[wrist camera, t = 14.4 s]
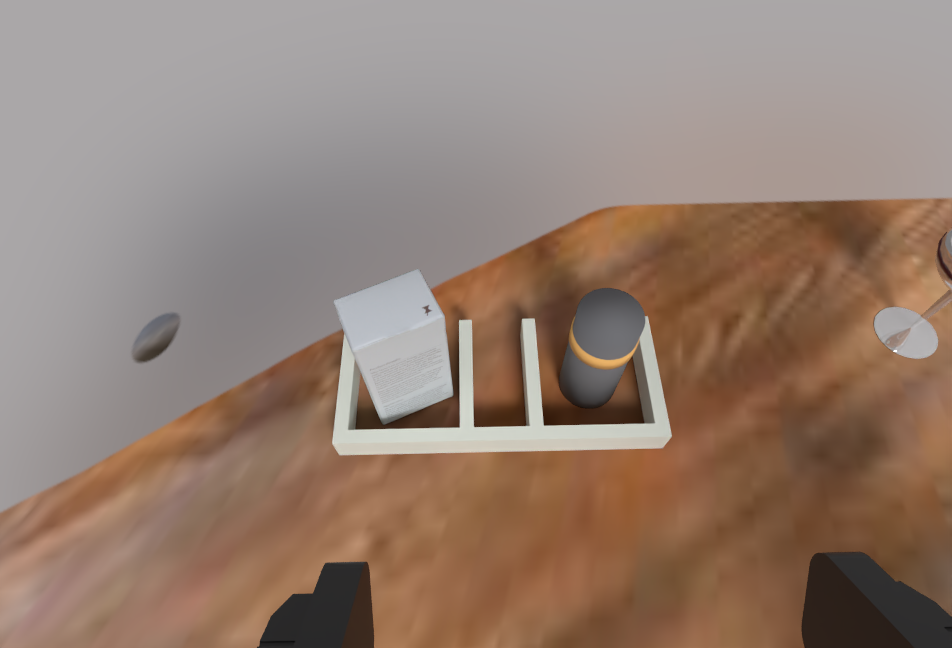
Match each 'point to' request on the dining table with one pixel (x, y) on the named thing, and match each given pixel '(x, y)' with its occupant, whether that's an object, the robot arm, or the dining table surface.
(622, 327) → the charcoal plug
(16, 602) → the dining table surface
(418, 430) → the rack
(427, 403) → the skincare box
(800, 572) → the dining table surface
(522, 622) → the dining table surface
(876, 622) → the robot arm
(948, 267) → the wineglass
